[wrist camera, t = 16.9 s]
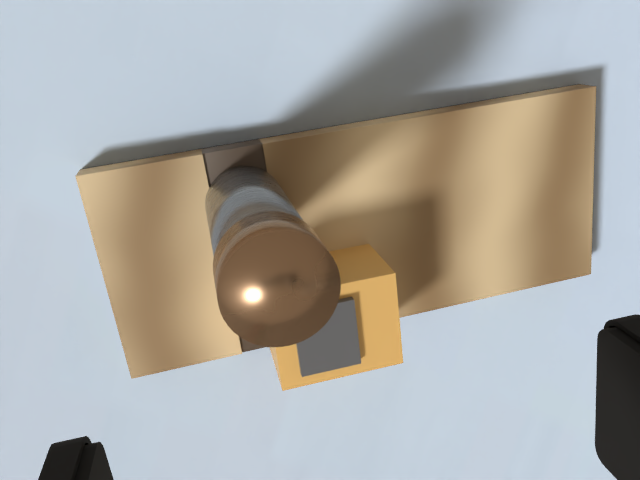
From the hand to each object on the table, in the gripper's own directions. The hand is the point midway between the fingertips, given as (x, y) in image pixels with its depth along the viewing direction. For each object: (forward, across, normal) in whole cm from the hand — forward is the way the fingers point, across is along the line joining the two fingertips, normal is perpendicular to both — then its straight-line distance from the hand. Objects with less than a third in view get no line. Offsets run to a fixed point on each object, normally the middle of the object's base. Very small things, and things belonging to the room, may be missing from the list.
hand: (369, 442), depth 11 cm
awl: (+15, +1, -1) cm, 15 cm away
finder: (+15, -1, +4) cm, 16 cm away
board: (+17, -4, +2) cm, 17 cm away
